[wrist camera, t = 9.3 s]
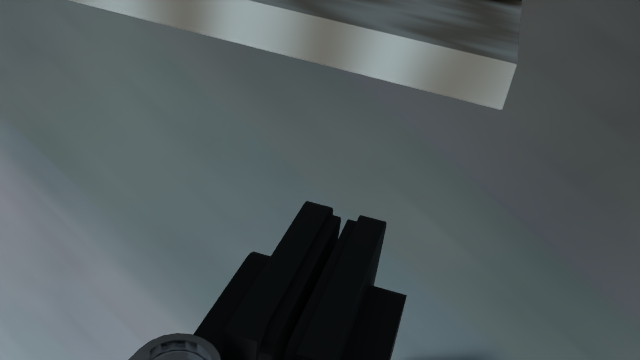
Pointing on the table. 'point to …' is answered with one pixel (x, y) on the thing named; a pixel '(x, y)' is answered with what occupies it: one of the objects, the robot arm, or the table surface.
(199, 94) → the table surface
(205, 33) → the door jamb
